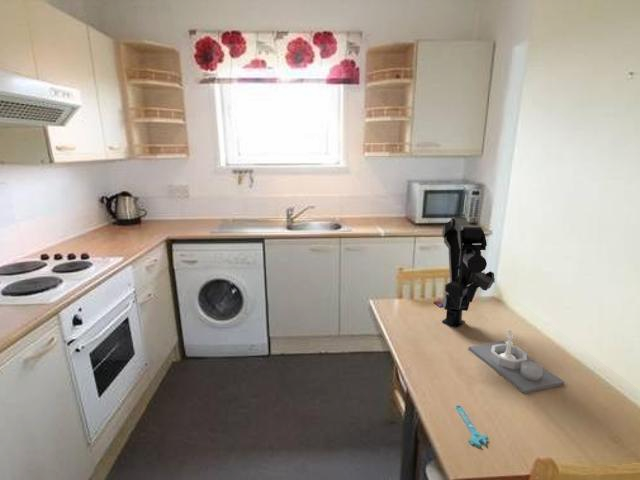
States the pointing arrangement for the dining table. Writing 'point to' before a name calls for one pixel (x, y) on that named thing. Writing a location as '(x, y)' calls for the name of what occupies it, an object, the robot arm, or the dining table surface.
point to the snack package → (439, 303)
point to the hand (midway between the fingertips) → (464, 305)
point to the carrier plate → (516, 367)
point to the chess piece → (508, 347)
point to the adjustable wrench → (472, 430)
